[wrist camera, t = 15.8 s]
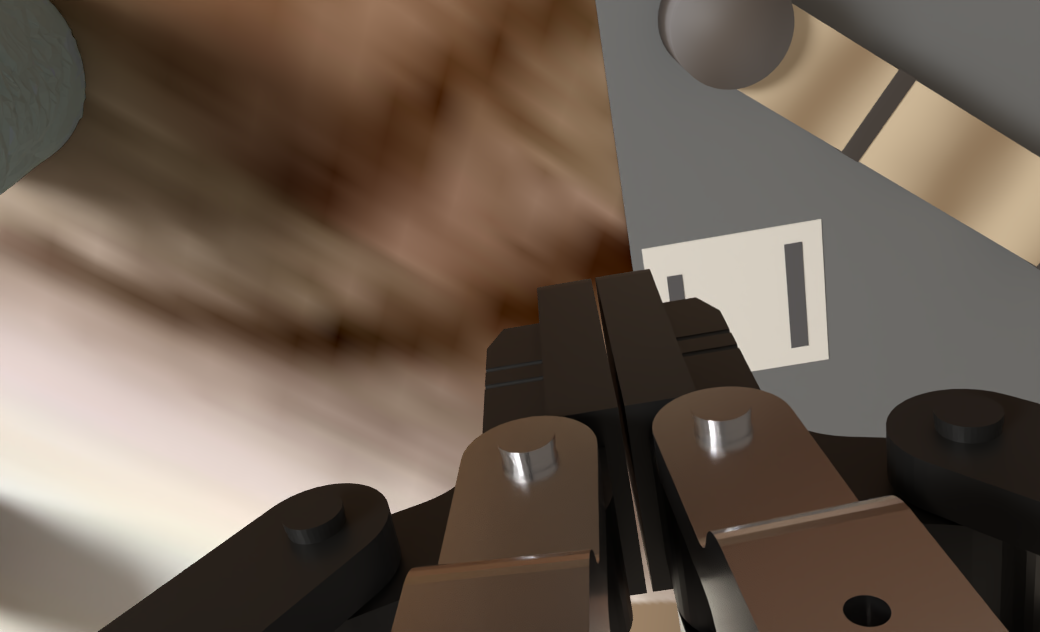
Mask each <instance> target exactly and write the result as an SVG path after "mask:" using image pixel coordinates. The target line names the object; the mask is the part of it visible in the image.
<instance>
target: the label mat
mask: <svg viewBox="0 0 1040 632" xmlns="http://www.w3.org/2000/svg"><path fill="white" fill-rule="evenodd" d="M660 2H661V0H596V7H597V15H598V22H599V29H600V36H601V43H602V51H603V58H604V65H605V72H606V79H607V86H608V94H609V101H610V108H611V115H612V122H613V130H614V137H615V144H616V151H617V158H618V165H619V173H620V180H621V187H622V194H623V201H624V208H625V216H626V223H627V230H628V237H629V244H630V252H631V259H632V266H633V271H638V270H644V269H650V271H651V273H652V276H653V279H654V281H655V284H656V287H657V289H658V292H659V294H660V297H661V300H662V302H663V303H664V302H670V301H676V300H682V299H688V298H694V297H696V298H698V299H700V300H702V301H704V302H706V303H707V304H709V305H711V306H713V307H715V308H717V309H718V310H720V311H721V313H722V315H723V317H724V319H725V321H726V323H727V325H728V327H729V329H730V333H732V335H733V337H734V339H735V341H736V343H737V346H738V348H740V350H741V352H742V354H743V356H744V358H745V360H746V362H747V364H748V366H749V368H750V370H751V372H752V374H753V376H754V378H755V380H756V382H757V384H758V386H759V388H760V390H762V391H765V392H768V393H771V394H773V395H775V396H778V397H779V398H781V399H782V400H784V401H785V402H786V403H787V404H788V405H789V406H790V407H791V408H792V409H793V411H794V412H795V414H796V415H797V416H798V418H799V419H800V420H801V422H802V423H803V425H804V426H805V427H806V429H807V430H808V431H812V432H816V433H820V434H827V435H834V436H848V437H884V438H886V421H887V417H888V415H889V414H890V412H891V411H892V410H893V409H894V408H895V407H896V406H897V405H898V404H900V403H902V402H903V401H905V400H907V399H909V398H912V397H914V396H916V395H920V394H923V393H927V392H932V391H937V390H946V389H977V390H986V391H993V392H997V393H1002V394H1006V395H1010V396H1013V397H1017V398H1021V399H1024V400H1028V401H1032V402H1035V403H1039V404H1040V270H1039V269H1037V268H1036V267H1034V266H1033V265H1031V264H1030V263H1028V262H1027V261H1026V260H1024V259H1023V258H1021V257H1019V256H1018V255H1016V254H1014V253H1013V252H1011V251H1009V250H1008V249H1006V248H1004V247H1003V246H1001V245H999V244H997V243H996V242H994V241H992V240H991V239H989V238H987V237H986V236H984V235H982V234H981V233H979V232H977V231H976V230H974V229H972V228H970V227H969V226H967V225H965V224H964V223H962V222H960V221H959V220H957V219H955V218H954V217H952V216H950V215H948V214H947V213H945V212H943V211H942V210H940V209H938V208H937V207H935V206H933V205H932V204H930V203H928V202H926V201H925V200H923V199H921V198H920V197H918V196H916V195H915V194H913V193H911V192H910V191H908V190H906V189H904V188H903V187H901V186H899V185H898V184H896V183H894V182H893V181H891V180H889V179H888V178H886V177H884V176H883V175H881V174H879V173H877V172H876V171H874V170H872V169H871V168H869V167H867V166H866V165H864V164H862V163H861V162H859V161H858V162H856V161H854V160H853V159H851V158H849V157H848V156H846V155H844V154H843V153H841V152H840V151H838V150H837V149H836V148H834V147H833V146H832V145H830V144H828V143H827V142H825V141H823V140H822V139H820V138H818V137H817V136H815V135H813V134H811V133H810V132H808V131H806V130H805V129H803V128H801V127H800V126H798V125H796V124H795V123H793V122H791V121H789V120H788V119H786V118H784V117H783V116H781V115H779V114H778V113H776V112H774V111H773V110H771V109H769V108H768V107H766V106H764V105H762V104H761V103H759V102H757V101H756V100H754V99H752V98H751V97H749V96H747V95H746V94H744V93H742V92H740V91H739V90H737V89H733V90H723V89H717V88H713V87H710V86H707V85H705V84H703V83H701V82H699V81H698V80H696V79H695V78H694V77H693V76H691V75H690V74H689V73H688V72H687V71H686V70H685V69H684V68H683V67H682V66H681V65H680V64H679V63H678V62H677V61H676V60H675V59H674V58H672V56H671V55H670V54H669V53H668V52H667V50H666V48H665V47H664V45H663V43H662V40H661V37H660V34H659V29H658V10H659V6H660ZM791 2H792V4H794V5H796V6H797V7H799V8H800V9H802V10H804V11H805V12H807V13H808V14H810V15H812V16H813V17H815V18H816V19H818V20H820V21H821V22H823V23H824V24H826V25H828V26H829V27H831V28H833V29H834V30H836V31H837V32H839V33H841V34H842V35H844V36H845V37H847V38H849V39H850V40H852V41H853V42H855V43H857V44H858V45H860V46H861V47H863V48H865V49H866V50H868V51H869V52H871V53H873V54H874V55H876V56H878V57H879V58H881V59H882V60H884V61H886V62H887V63H889V64H890V65H892V66H895V67H897V68H900V69H901V70H903V71H905V72H906V73H908V74H909V75H911V76H913V77H914V78H916V81H918V82H919V83H921V84H923V85H924V86H926V87H927V88H929V89H931V90H932V91H934V92H935V93H937V94H939V95H940V96H942V97H943V98H945V99H947V100H948V101H950V102H952V103H953V104H955V105H956V106H958V107H960V108H961V109H963V110H964V111H966V112H968V113H969V114H971V115H972V116H974V117H976V118H977V119H979V120H980V121H982V122H984V123H985V124H987V125H989V126H990V127H992V128H993V129H995V130H997V131H998V132H1000V133H1001V134H1003V135H1005V136H1006V137H1008V138H1009V139H1011V140H1013V141H1014V142H1016V143H1017V144H1019V145H1021V146H1022V147H1024V148H1026V149H1027V150H1029V151H1030V152H1032V153H1034V154H1035V155H1037V156H1038V157H1040V0H791Z"/></svg>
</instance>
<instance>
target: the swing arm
mask: <svg viewBox="0 0 1040 632" xmlns="http://www.w3.org/2000/svg"><path fill="white" fill-rule="evenodd" d="M658 29H659V34H660V37H661V40H662V43H663V45H664V47H665V48H666V50H667V52H668V53H669V54H670V55H671V56H672V58H674V59H675V60H676V61H677V62H678V63H679V64H680V65H681V66H682V67H683V68H684V69H685V70H686V71H687V72H688V73H689V74H690V75H691V76H693V77H694V78H695V79H696V80H698V81H699V82H701V83H703V84H705V85H707V86H710V87H713V88H717V89H723V90H733V89H737V90H739V91H740V92H742V93H744V94H746V95H747V96H749V97H751V98H752V99H754V100H756V101H757V102H759V103H761V104H762V105H764V106H766V107H768V108H769V109H771V110H773V111H774V112H776V113H778V114H779V115H781V116H783V117H784V118H786V119H788V120H789V121H791V122H793V123H795V124H796V125H798V126H800V127H801V128H803V129H805V130H806V131H808V132H810V133H811V134H813V135H815V136H817V137H818V138H820V139H822V140H823V141H825V142H827V143H828V144H830V145H832V146H833V147H834V148H836V149H837V150H838V151H840V152H841V153H843V154H844V155H846V156H848V157H849V158H851V159H853V160H854V161H856V162H858V161H859V162H861V163H862V164H864V165H866V166H867V167H869V168H871V169H872V170H874V171H876V172H877V173H879V174H881V175H883V176H884V177H886V178H888V179H889V180H891V181H893V182H894V183H896V184H898V185H899V186H901V187H903V188H904V189H906V190H908V191H910V192H911V193H913V194H915V195H916V196H918V197H920V198H921V199H923V200H925V201H926V202H928V203H930V204H932V205H933V206H935V207H937V208H938V209H940V210H942V211H943V212H945V213H947V214H948V215H950V216H952V217H954V218H955V219H957V220H959V221H960V222H962V223H964V224H965V225H967V226H969V227H970V228H972V229H974V230H976V231H977V232H979V233H981V234H982V235H984V236H986V237H987V238H989V239H991V240H992V241H994V242H996V243H997V244H999V245H1001V246H1003V247H1004V248H1006V249H1008V250H1009V251H1011V252H1013V253H1014V254H1016V255H1018V256H1019V257H1021V258H1023V259H1024V260H1026V261H1027V262H1028V263H1030V264H1031V265H1033V266H1034V267H1036V268H1037V269H1039V270H1040V157H1038V156H1037V155H1035V154H1034V153H1032V152H1030V151H1029V150H1027V149H1026V148H1024V147H1022V146H1021V145H1019V144H1017V143H1016V142H1014V141H1013V140H1011V139H1009V138H1008V137H1006V136H1005V135H1003V134H1001V133H1000V132H998V131H997V130H995V129H993V128H992V127H990V126H989V125H987V124H985V123H984V122H982V121H980V120H979V119H977V118H976V117H974V116H972V115H971V114H969V113H968V112H966V111H964V110H963V109H961V108H960V107H958V106H956V105H955V104H953V103H952V102H950V101H948V100H947V99H945V98H943V97H942V96H940V95H939V94H937V93H935V92H934V91H932V90H931V89H929V88H927V87H926V86H924V85H923V84H921V83H919V82H918V81H916V78H914V77H913V76H911V75H909V74H908V73H906V72H905V71H903V70H901V69H900V68H897V67H895V66H892V65H890V64H889V63H887V62H886V61H884V60H882V59H881V58H879V57H878V56H876V55H874V54H873V53H871V52H869V51H868V50H866V49H865V48H863V47H861V46H860V45H858V44H857V43H855V42H853V41H852V40H850V39H849V38H847V37H845V36H844V35H842V34H841V33H839V32H837V31H836V30H834V29H833V28H831V27H829V26H828V25H826V24H824V23H823V22H821V21H820V20H818V19H816V18H815V17H813V16H812V15H810V14H808V13H807V12H805V11H804V10H802V9H800V8H799V7H797V6H796V5H794V4H792V2H791V0H661V2H660V6H659V10H658Z"/></svg>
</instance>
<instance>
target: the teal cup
mask: <svg viewBox="0 0 1040 632" xmlns="http://www.w3.org/2000/svg"><path fill="white" fill-rule="evenodd" d="M85 88H86V82H85V74H84V70H83V63H82V59H81V55H80V52H79V50H78V48H77V43H76V39H75V38H74V37H73V36H72V35H71V29H70V28H69V26H68V25H67V23H66V21H65V19H64V18H63V16H62V15H61V14H60V12H59V11H58V10H57V9H56V7H55V6H54V5H53V4H52V3H51V2H50V1H49V0H0V195H1V194H2V193H4V192H5V191H6V190H7V189H9V188H10V187H11V186H13V185H14V184H15V183H16V182H18V181H19V180H20V179H21V178H22V177H24V176H25V175H26V174H27V173H28V172H30V171H31V170H32V169H33V168H35V167H36V166H37V165H39V164H40V163H41V162H43V161H44V160H46V159H47V158H49V157H50V156H51V155H53V154H54V153H55V152H56V151H57V150H59V149H60V148H61V147H62V146H63V145H64V144H65V143H66V141H67V140H68V139H69V137H70V136H71V134H72V133H73V131H74V130H75V128H76V126H77V123H78V121H79V119H81V118H82V115H83V104H84V100H85V99H86V96H85Z"/></svg>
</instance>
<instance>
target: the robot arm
mask: <svg viewBox="0 0 1040 632" xmlns="http://www.w3.org/2000/svg"><path fill="white" fill-rule="evenodd" d="M595 279H596V287H597V294H598V300H599V307H600V313H601V319H602V326H603V332H604V339H605V344H604V339H603V334H602V330H601V325H600V320H599V315H598V311H597V306H596V301H595V296H594V292H593V287H592V282H591V279H586V280H580V281H574V282H568V283H562V284H556V285H550V286H544V287H539V288H537V293H538V308H539V323H538V324H532V325H526V326H520V327H514V328H508V329H503V331H502V332H501V333H500V334H499V335H498V337H497V338H496V339H495V340H494V341H493V343H492V344H491V345H490V346H489V347H488V349H487V360H486V372H487V373H486V378H485V387H486V389H485V397H484V416H483V434H482V435H480V436H479V437H478V438H476V439H475V440H474V441H473V442H472V443H471V444H470V445H469V446H468V447H467V449H466V450H465V452H464V453H463V456H462V459H461V463H460V467H459V472H458V476H457V481H456V485H455V487H454V488H452V489H451V490H449V491H448V492H446V493H444V494H442V495H440V496H438V497H436V498H434V499H432V500H429V501H427V502H424V503H422V504H419V505H416V506H413V507H410V508H408V509H405V510H402V511H399V512H397V513H394V514H391V512H390V509H389V505H388V502H387V500H386V498H385V497H384V496H383V494H381V493H380V492H379V491H377V490H376V489H374V488H371V487H369V486H365V485H361V484H352V483H341V484H332V485H325V486H321V487H316V488H313V489H310V490H307V491H304V492H301V493H299V494H296V495H294V496H292V497H290V498H288V499H286V500H284V501H282V502H280V503H279V504H277V505H276V506H274V507H273V508H271V509H270V510H268V511H267V512H265V513H264V514H263V515H261V516H260V517H258V518H257V519H256V520H254V521H253V522H251V523H250V524H249V525H247V526H246V527H244V528H243V529H242V530H240V531H239V532H237V533H236V534H234V535H233V536H232V537H230V538H229V539H227V540H226V541H225V542H223V543H222V544H220V545H219V546H218V547H216V548H215V549H213V550H212V551H211V552H209V553H208V554H206V555H205V556H204V557H202V558H201V559H199V560H198V561H197V562H195V563H194V564H192V565H191V566H190V567H188V568H187V569H185V570H184V571H183V572H181V573H180V574H178V575H177V576H175V577H174V578H173V579H171V580H170V581H168V582H167V583H166V584H164V585H163V586H161V587H160V588H159V589H157V590H156V591H154V592H153V593H152V594H150V595H149V596H147V597H146V598H145V599H143V600H142V601H140V602H139V603H138V604H136V605H135V606H133V607H132V608H131V609H129V610H128V611H126V612H125V613H123V614H122V615H121V616H119V617H118V618H116V619H115V620H114V621H112V622H111V623H109V624H108V625H107V626H105V627H104V628H102V629H101V630H100V631H98V632H629V631H630V629H631V626H632V621H633V614H632V606H631V600H630V595H636V594H643V593H647V590H646V584H645V577H644V571H643V565H642V558H641V552H640V545H639V539H638V533H637V526H636V520H635V513H634V507H633V500H632V494H631V488H630V482H631V487H632V492H633V497H634V502H635V507H636V512H637V516H638V521H639V526H640V531H641V536H642V541H643V546H644V550H645V555H646V560H647V565H648V570H649V575H650V580H651V584H652V589H653V592H654V591H661V590H668V589H674V594H675V598H676V602H677V608H678V615H679V622H680V629H681V632H1040V404H1039V403H1035V402H1032V401H1028V400H1024V399H1021V398H1017V397H1013V396H1010V395H1006V394H1002V393H997V392H993V391H986V390H977V389H946V390H937V391H932V392H927V393H923V394H920V395H916V396H914V397H912V398H909V399H907V400H905V401H903V402H902V403H900V404H898V405H897V406H896V407H895V408H894V409H893V410H892V411H891V412H890V414H889V415H888V417H887V421H886V438H884V437H848V436H834V435H827V434H820V433H816V432H812V431H808V430H807V429H806V427H805V426H804V425H803V423H802V422H801V420H800V419H799V418H798V416H797V415H796V414H795V412H794V411H793V409H792V408H791V407H790V406H789V405H788V404H787V403H786V402H785V401H784V400H782V399H781V398H779V397H778V396H775V395H773V394H771V393H768V392H765V391H762V390H760V388H759V386H758V384H757V382H756V380H755V378H754V376H753V374H752V372H751V370H750V368H749V366H748V364H747V362H746V360H745V358H744V356H743V354H742V352H741V350H740V348H738V346H737V343H736V341H735V339H734V337H733V335H732V333H730V329H729V327H728V325H727V323H726V321H725V319H724V317H723V315H722V313H721V311H720V310H718V309H717V308H715V307H713V306H711V305H709V304H707V303H706V302H704V301H702V300H700V299H698V298H696V297H694V298H688V299H682V300H676V301H670V302H664V303H663V302H662V300H661V297H660V294H659V292H658V289H657V287H656V284H655V281H654V279H653V276H652V273H651V271H650V269H644V270H638V271H633V272H627V273H621V274H615V275H609V276H603V277H597V278H595ZM605 345H606V348H605ZM606 351H607V353H606ZM628 473H629V475H628ZM629 478H630V481H629Z"/></svg>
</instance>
